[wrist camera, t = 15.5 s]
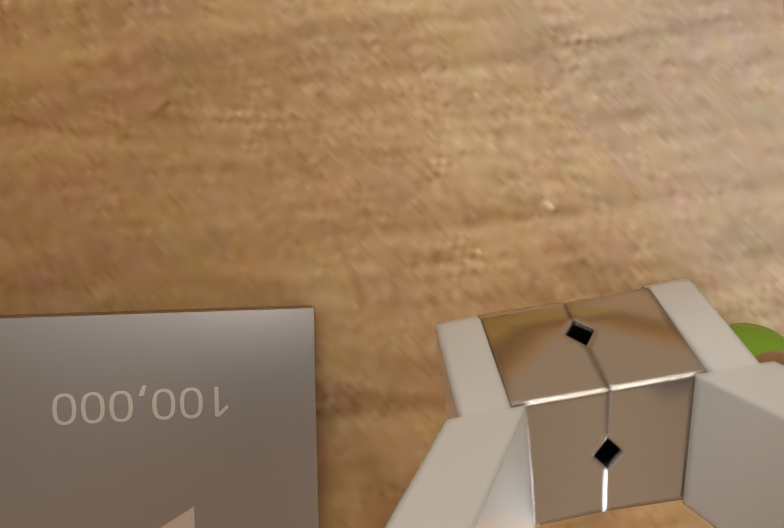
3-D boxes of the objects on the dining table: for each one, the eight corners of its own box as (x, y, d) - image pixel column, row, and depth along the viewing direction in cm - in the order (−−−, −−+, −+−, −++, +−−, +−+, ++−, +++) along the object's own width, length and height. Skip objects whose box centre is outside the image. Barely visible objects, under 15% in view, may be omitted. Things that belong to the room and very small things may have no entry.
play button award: (313, 308, 36) (323, 715, 37) (312, 305, 37) (321, 696, 38) (-47, 319, 34) (-30, 754, 34) (-33, 316, 35) (-17, 732, 36)
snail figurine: (692, 287, 40) (862, 306, 28) (778, 356, 41) (979, 402, 29) (634, 369, 40) (782, 422, 28) (723, 437, 41) (903, 516, 29)
